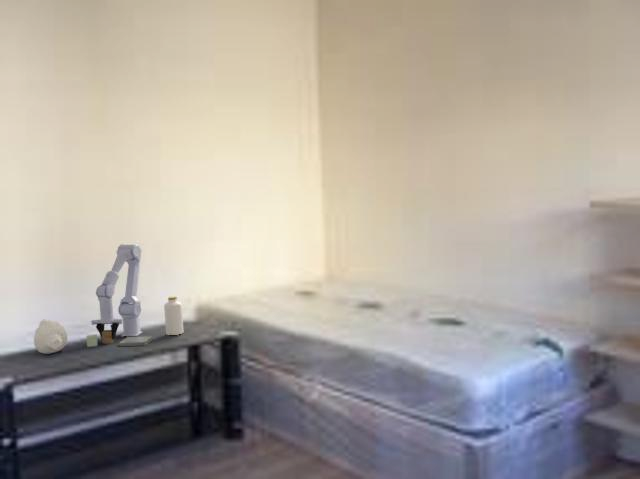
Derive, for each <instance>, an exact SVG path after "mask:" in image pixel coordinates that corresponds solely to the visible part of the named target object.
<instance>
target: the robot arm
mask: <svg viewBox="0 0 640 479" xmlns="http://www.w3.org/2000/svg"><path fill="white" fill-rule="evenodd" d="M116 255H117V256H116V257H115V260H114V263H113V266H112V268H111V270H110V271H107V272H106V275H105V277H104V279H103V280H102V283H101V284H100V285H99V286H98V287H97V288H96V291H95V295H96V297H97V300H98V302H99V314H100V316H99V317H100V319H92V320H91V321H90V322H91V325H92V326H94V325H95V328H96V330H97V331H98V333H99V335H100V339H101V340H102V331H104V330H105V325H110V330H112V339H113V340H114V339H115V340H116V338H117V337H116V335H117V332H118V328H119V326H120V325H122V327H123V328H122V329H123V334H121V336H120V337H122V338H123V337H124V336H126V337H139V335H141V334H142V333H143V330H142V329H141V319H140V315H141V313H142V307H141V302H142V301H141V300H140V299H138V297H137V293H138V284H139V276H140V269H141V268H140V267H141V257H142V248H141V246H140V245H139V244H137V243H135V244H123V243H122V244H120V245H119V246H118V247H117V250H116ZM125 262H126V263H127V264H128V267H127V276H126V284H125V292H124V293H125V294H124V297H122V298H121V299H120V303H119V306H118V308H117V310H118V314H119V315H120V317H121V318H114V309H113V308H114V306H113V296H114V295H115V289H116V287H115V286H116V284H117V282H118V280H119V278H120V276H119V273H120V271H121V269H122V268H123V266H124V264H125ZM141 330H142V331H141Z"/></svg>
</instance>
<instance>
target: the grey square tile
mask: <svg viewBox="0 0 640 479" xmlns="http://www.w3.org/2000/svg"><path fill="white" fill-rule="evenodd" d="M152 339H153V335H152V336H126V337H125V338H124V339H123V340H121V341H120V342H119V343H118V345H119V347H135V346H136V347H137V346H146V345H147V344H149V343H150V342H152V341H153V340H152Z"/></svg>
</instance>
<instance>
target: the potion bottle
mask: <svg viewBox="0 0 640 479" xmlns="http://www.w3.org/2000/svg"><path fill="white" fill-rule="evenodd" d="M163 308H164V320H165V321H164V323H165V324H164V325H165V334H166V335H167V336H169V335H177V336H180V335H179V334H181V335H183V334H184V333H185V331H184V319H183V318H184V317H183V304H182V302H180V301H178V297H177V296H169V297H168V299H167V302H166V303H164V306H163ZM182 333H183V334H182Z"/></svg>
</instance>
